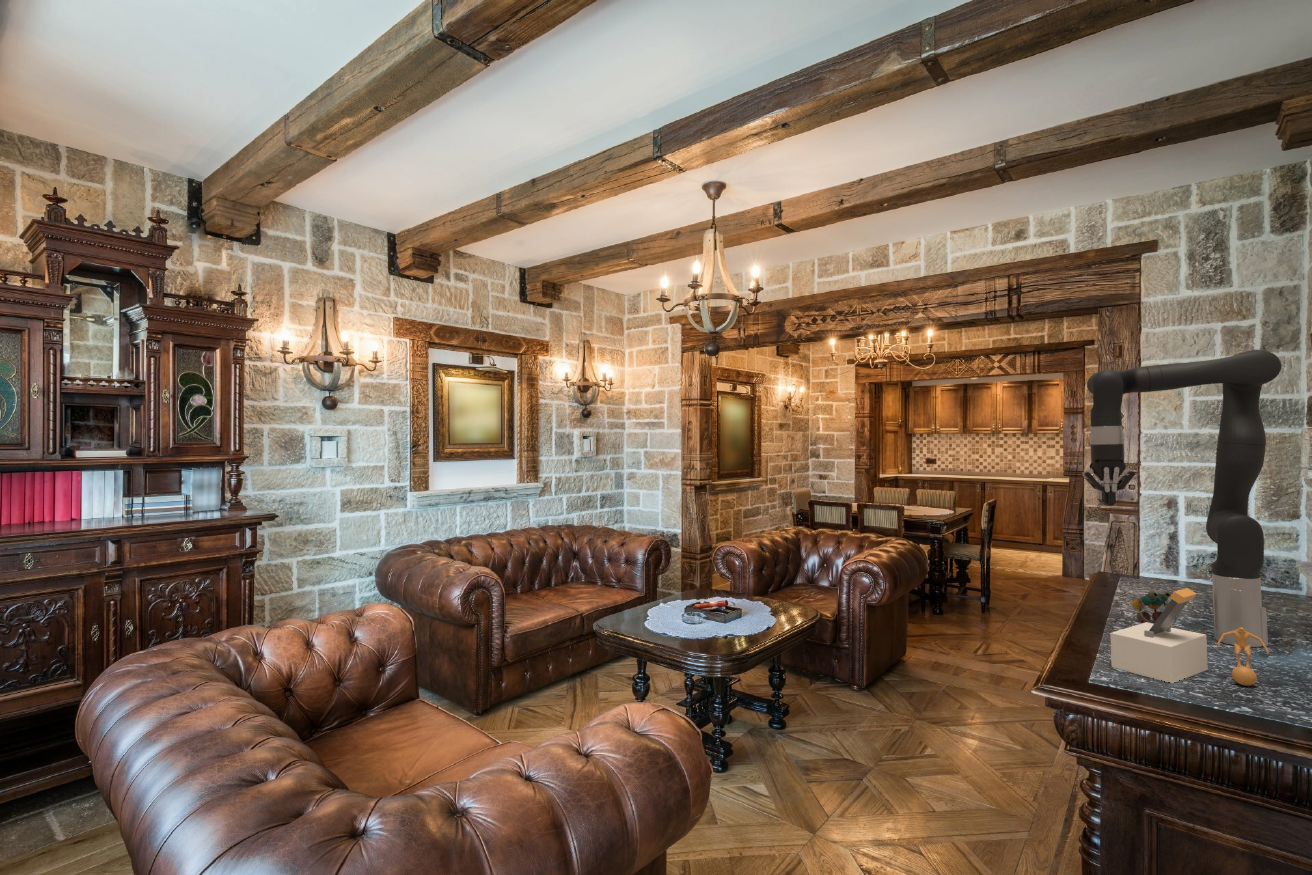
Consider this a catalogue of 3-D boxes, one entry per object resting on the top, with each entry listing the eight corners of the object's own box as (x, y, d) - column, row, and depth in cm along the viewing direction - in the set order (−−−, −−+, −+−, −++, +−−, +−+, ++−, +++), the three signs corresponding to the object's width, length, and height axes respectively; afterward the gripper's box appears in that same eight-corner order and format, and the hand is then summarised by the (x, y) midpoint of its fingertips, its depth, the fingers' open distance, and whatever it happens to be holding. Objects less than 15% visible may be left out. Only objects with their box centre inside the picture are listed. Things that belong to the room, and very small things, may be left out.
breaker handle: (1145, 631, 145) (1174, 591, 140) (1158, 626, 148) (1187, 587, 143) (1154, 637, 144) (1183, 597, 139) (1167, 632, 147) (1196, 593, 142)
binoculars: (1172, 631, 179) (1158, 597, 184) (1192, 621, 171) (1176, 586, 177) (1137, 631, 180) (1124, 597, 185) (1155, 621, 172) (1141, 586, 177)
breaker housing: (1111, 666, 147) (1110, 627, 148) (1147, 654, 155) (1145, 617, 155) (1172, 683, 137) (1170, 641, 137) (1207, 669, 144) (1206, 629, 144)
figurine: (1219, 683, 136) (1217, 628, 136) (1217, 675, 141) (1215, 621, 141) (1272, 692, 131) (1270, 634, 131) (1268, 683, 136) (1266, 627, 136)
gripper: (1086, 443, 171) (1089, 507, 170) (1141, 442, 168) (1144, 506, 168) (1073, 443, 178) (1076, 504, 178) (1126, 442, 176) (1128, 503, 175)
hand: (1109, 505), depth 173 cm, fingers closed
